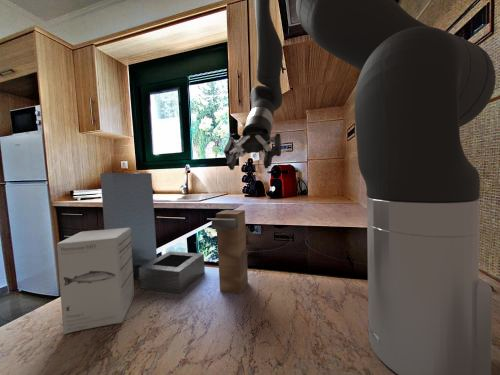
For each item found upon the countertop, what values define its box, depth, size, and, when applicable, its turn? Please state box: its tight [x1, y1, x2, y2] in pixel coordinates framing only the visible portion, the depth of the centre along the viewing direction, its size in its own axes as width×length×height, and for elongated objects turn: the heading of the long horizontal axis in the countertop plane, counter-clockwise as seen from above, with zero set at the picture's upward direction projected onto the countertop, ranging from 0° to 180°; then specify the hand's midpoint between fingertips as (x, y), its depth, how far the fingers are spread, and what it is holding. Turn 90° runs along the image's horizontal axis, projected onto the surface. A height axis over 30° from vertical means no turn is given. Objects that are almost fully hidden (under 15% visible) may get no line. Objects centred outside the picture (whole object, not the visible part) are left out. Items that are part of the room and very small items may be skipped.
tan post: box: [211, 209, 249, 295], centre depth 38 cm, size 4×6×14 cm
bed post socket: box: [99, 172, 206, 295], centre depth 44 cm, size 16×10×22 cm, turn 73°
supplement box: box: [56, 228, 135, 335], centre depth 33 cm, size 7×7×13 cm
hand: (247, 166), depth 49 cm, fingers open, 8 cm apart
